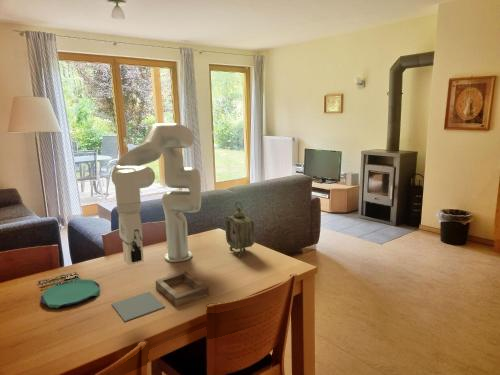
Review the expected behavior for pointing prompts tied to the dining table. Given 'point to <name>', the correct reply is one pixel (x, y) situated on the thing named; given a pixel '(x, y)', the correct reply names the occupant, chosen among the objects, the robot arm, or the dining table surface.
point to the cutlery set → (69, 291)
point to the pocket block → (183, 298)
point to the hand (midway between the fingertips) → (133, 258)
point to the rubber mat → (137, 306)
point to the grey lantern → (239, 231)
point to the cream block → (127, 253)
